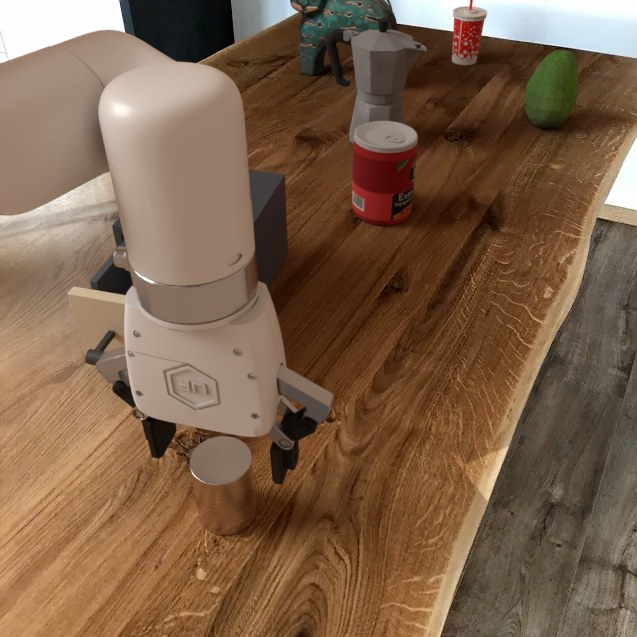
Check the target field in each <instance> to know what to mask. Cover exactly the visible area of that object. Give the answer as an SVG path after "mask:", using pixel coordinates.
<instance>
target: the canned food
mask: <svg viewBox="0 0 637 637" xmlns="http://www.w3.org/2000/svg"><path fill="white" fill-rule="evenodd" d="M418 144H419V135H418V132H417V131H416V130H415V129H414V128H413V127H411V126H409V125H407V124H405V123H404V124H402V123H398V122H392V121H374V122H369V123H365V124H362V125H360V126H359V127H358V128H356V130H355V132H354V143H353V144H352V176H351V178H352V180H351V182H352V183H351V184H352V185H351V206H352V210H353V213H354V215H355V216H356V217H357V218H358V219H359V220H361V221H363V222H365V223H368V224H371V225H375V226H393V225H394V226H395V225H397V224H400V223H402V222H404V221H406V220H407V219H408V218H409V216H410V214H411V212H412V209H413V201H414V200H413V199H414V189H415V188H414V187H415V179H416V169H417V167H416V166H417V158H418V157H417V156H418V146H419V145H418Z"/></svg>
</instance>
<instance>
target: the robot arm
mask: <svg viewBox="0 0 637 637" xmlns="http://www.w3.org/2000/svg"><path fill="white" fill-rule="evenodd" d="M246 133H247V131H246V118H245V111H244V103H243V98H242V94H241V91H240V90H239V88H238V86H237V84H236V83H235V82H234V80H233V79H232V78H231V77H230V76H229V75H228V74H226V73H225V72H223V71H221V70H219V69H218V68H216V67H213V66H211V65H208V64H203V63H196V62H190V61H177V60H175V59H173V58H171V57H170V56H168V55H167V54H165V53H163V52H162V51H160V50H158V49H157V48H155V47H154V46H152V45H150V44H148V43H147V42H146V41H144V40H142V39H140V38H138V37H136V36H135V35H132V34H130V33H127V32H125V31H120V30H117V29H101V30H94V31H90V32H88V33H83V34H81V35H77V36H75V37H72V38H70V39H66V40H63V41H61V42H57V43H55V44H53V45H49V46H44V47H43V48H39V49H37V50H34V51H32V52H29V53H26V54H23V55H20V56H17V57H14V58H11V59H9V60H6V61H3V62H0V216H1V217H2V216H3V217H11V216H12V217H13V216H19V215H23V214H26V213H29V212H32V211H35V210H37V209H38V208H40V207H42V206H45V205H47V204H49V203H52V202H53V201H55V200H56V199H58V198H60V197H63V196H64V195H67V194H69V193H70V192H72V191H73V190H76V189H78V188H79V187H81V186H83V185H85V184H87V183H89V182H91V181H92V180H95V179H97V178H98V177H100V176H102V175H104V174H107V173H109V174H110V179H111V183H112V188H113V192H114V197H115V202H116V207H117V211H118V216H119V217H120V221H121V226H122V230H123V235H124V240H125V244H126V247H122V246H119V247H116V248H115V249H114V251H113V253H114V256H113V262H114V265H115V266H116V267H121V268H125V270H127V271H129V272H130V274H131V278H132V283H133V286H132V287H131V288H130V289H129V290H128V292H127V294H126V298H125V316H124V337H125V346H123V347H119V348H116V349H112V350H108V351H105V352H104V353H103V355H102V356H101V357H100V359H99V360H98V361H97V363H96V366H95V368H96V370H98V371H99V373H100V374H101V375H102V376H103V377H104V379H105V380H106V382H108V383H109V384H111V385H112V386H111V390H112V392H113V393H114V394H115V395H116V396H117V397H118V398H119V399H121V400H122V401H123V402H125V403H126V404H127V405H128V406H129V407H131V411H130V414H131V416H132V417H133V418H134V419H136V420H138V421H141V425H142V429H143V433H144V438H145V439H146V441H147V444H148V448H149V451H150V456H151V458H153V459H157V460H160V459H161V458H163V457H164V456H165V454H166V451H167V450H168V448H169V446H170V445H171V443H172V441H173V439H174V437H175V435H176V434H177V430H178V429H177V428H178V427H177V424H178V425H182V426H186V427H192V428H197V429H201V430H207V431H212V432H217V433H221V434H222V433H223V434H228V435H232V436H239V437H245V438H260V437H264V436H267V437H268V438H269V439H270V440H271V441H272V443H271V445H270V448H269V457H270V469H271V479H272V482H274V484H275V485H279V486H283V484H284V481H285V479H286V476H287V474H288V471H295V469H296V468H297V465H298V463H299V457H300V443H299V442H300V441H301V440H302V439H305V438H307V437H308V436H311V435H312V434H314V433H316V431H317V428H318V427H319V425H321V424H322V423H323V421H324V420H325V419H326V418H327V416H329V414H330V413H331V411H332V408H333V405H334V403H335V399H336V396H335V394H334V393H332V392H331V391H330V390H328V389H326V388H325V387H322V386H321V385H319V384H317V383H315V382H313V381H312V380H310V379H308V378H306V377H304V376H303V375H301V374H300V373H297V372H295V371H294V370H292V369H290V368H289V367H287V359H286V353H285V346H284V341H283V337H282V330H281V326H280V323H279V318H278V315H277V312H276V307H275V305H274V302H273V300H272V299H273V298H272V296H271V293H270V291H269V290H268V288H267V286H266V284H264V283H262V282H260V281H258V274H257V262H256V250H255V240H254V228H253V215H252V202H251V192H250V180H249V169H250V168H249V158H248V156H249V155H248V143H247V134H246ZM289 399H290V400H292V401H294V402H296V403H297V404H299V405H301V406H302V408H300V409H298V408H297V407H296V406H295V405H294V404H293V403H292V402H291V401H290V400H289ZM277 415H279V416H280V418H281V421H280V422H279V420H277V419H276V418H277Z"/></svg>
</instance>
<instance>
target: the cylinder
mask: <svg viewBox="0 0 637 637" xmlns="http://www.w3.org/2000/svg"><path fill="white" fill-rule="evenodd" d="M188 461H189V462H188V465H189V473H190V478H191V483H192V488H193V493H194V494H193V495H194V500H195V504H196V510H197V515H198V520H199V522H200V524H201V525H202V527H204V528H205V530H207V531H208V532H210V533H212V534H215V535H220V536H230V535H235V534H238V533H240V532H242V531H243V530H245V529H246V528H248V527H249V526H250V525H251V524H252V523H253V521H254V520H255V518H256V514H257V509H258V508H257V506H258V505H257V496H256V487H255V477H254V464H253V455H252V451H251V449H250V448H249V446H248V444H246V443H245V442H244V441H242V440H241V439H239V438H237V437H234V436H230V435H229V436H228V435H220V436H214V437H213V436H212V437H210V438H207V439H205V440H203V441H202V442H200V443H199V444H197V446H196V447H195V448H194V449H193V450H192V452H191V454H190V457H189V460H188Z"/></svg>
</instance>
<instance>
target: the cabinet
mask: <svg viewBox="0 0 637 637" xmlns="http://www.w3.org/2000/svg"><path fill="white" fill-rule="evenodd" d="M249 180H250V192H251V202H252V215H253V228H254V240H255V250H256V262H257V274H258V281H260V282H262V283H264V284H266V286H267V288H268V291H269V289H270V288H271V286H272V285H273V282H274V281H275V278H276V276H277V275H278V272H279V271H280V269H281V268H282V265H283V263H284V261H285V259H286V258H287V256H288V254H289V246H288V244H289V243H288V220H287V219H288V218H287V217H288V216H287V191H286V189H287V188H286V174H285V173H279V172H271V171H265V170H257V169H250V168H249ZM111 228H112V233H113V238H114V242H115V246H116V248H117V247H119V246H120V245H121V243H122V242H123V241H124V235H123V230H122V226H121V221H120V216H119V217H118V218H117V219H116V220H115V221H114V222H113V224H112V225H111Z"/></svg>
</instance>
